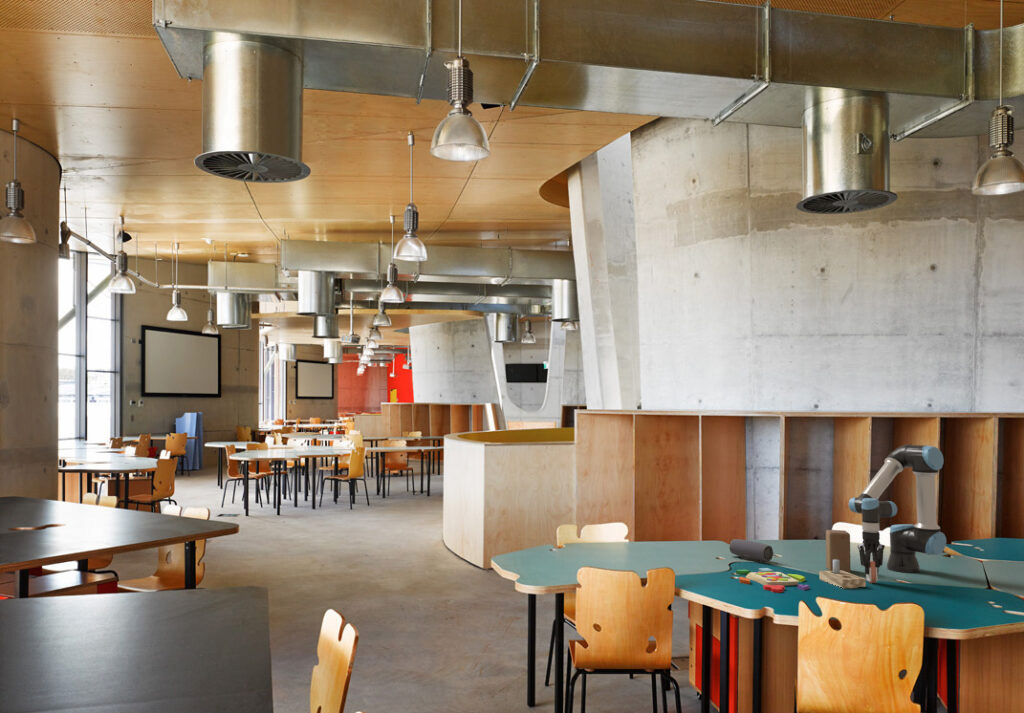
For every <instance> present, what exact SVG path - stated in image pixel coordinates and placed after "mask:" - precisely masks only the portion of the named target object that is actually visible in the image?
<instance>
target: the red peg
mask: <svg viewBox="0 0 1024 713" xmlns="http://www.w3.org/2000/svg"><path fill="white" fill-rule="evenodd" d="M870 568H871V580H872V582H870V581H868V583H869V584H872V583H875V584H876V583H877V581H876V579H875V561H873V560H870Z"/></svg>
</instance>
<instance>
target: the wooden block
mask: <svg viewBox="0 0 1024 713" xmlns="http://www.w3.org/2000/svg"><path fill="white" fill-rule="evenodd" d="M833 560H839V565H840V570H842V571H845V572H848V573H850V574H851V534H850V533H849V532H848V531H847V530H842V529H841V530H840V529H839V530H838V529H836V530H835V529H826V530H825V564H826V565H825V566H826V569H827V571H833Z"/></svg>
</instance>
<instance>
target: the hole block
mask: <svg viewBox="0 0 1024 713" xmlns="http://www.w3.org/2000/svg"><path fill="white" fill-rule="evenodd" d="M818 577H819V580H820V581H823V582H825V583H827V582H828V583H827V584H829V585H832V584H833V586H835V585H836V586H835V587H837V586H839V587H838V588H840V587H842V588H843V589H859V588H858V587H866V581H867V580H866V578H864V577H861V576H858V575H855V574H853V573H851V572H850V573H848V572H845V571H842V570H840V574H833V571H829V570H820V571H819V576H818ZM842 588H841V589H842Z"/></svg>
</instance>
